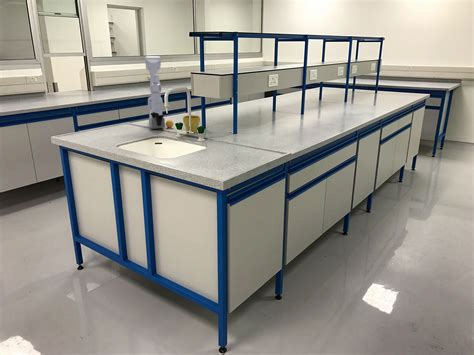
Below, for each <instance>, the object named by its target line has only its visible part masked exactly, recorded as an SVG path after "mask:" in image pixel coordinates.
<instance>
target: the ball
mask: <svg viewBox="0 0 474 355" xmlns="http://www.w3.org/2000/svg"><path fill="white" fill-rule="evenodd" d="M173 126H174V122H173V121H172V120H171V119H167V120H166V121H165V127H167V128H168V127H169V128H168V129H170V127H171V128H172V127H173Z"/></svg>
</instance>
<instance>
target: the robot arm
mask: <svg viewBox="0 0 474 355" xmlns="http://www.w3.org/2000/svg"><path fill="white" fill-rule="evenodd" d="M144 60H145V61H144V62H145V69H146V70H147V71H148V72H149V74H150V76H149V81H150V85H149V87H150V88H149V90H150V92H149V93H150V96H148V98H147V107H148V108H147V109H148V110H149V115H148V116H149V118H153V117H155V118H156V121H157V125H158V126H161V123H162V119H163V118H164V116H165V115H164V114H163V111H162V110H163V109H164V102H163V97H161V93H162V85H161V82H160V76H159V75H158V71H160V70H161V65H162V60H161V57H160V56H159V55H158V56H145V58H144Z"/></svg>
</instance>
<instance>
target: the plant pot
mask: <svg viewBox="0 0 474 355" xmlns="http://www.w3.org/2000/svg"><path fill="white" fill-rule="evenodd" d="M190 115H191V114H190ZM182 121H183V123H184V127H185V131H186V132H187V131H189V130H190V126H189V116H188V115H184V116H182ZM200 122H201V116H200V115H195V114H193V115H191V131H192V132H197V127H198V128H199V125H200ZM197 133H198V132H197Z"/></svg>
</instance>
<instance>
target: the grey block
mask: <svg viewBox="0 0 474 355" xmlns="http://www.w3.org/2000/svg"><path fill="white" fill-rule="evenodd" d="M148 123H149V124H148V126H149V128H150V129H153V130H154V129H161V128H162V129H164V128H166V121H165V117H163V119H162V123H161V126H158V125H157V121H156V118H155V117H153V118H150V117H148Z"/></svg>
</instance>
